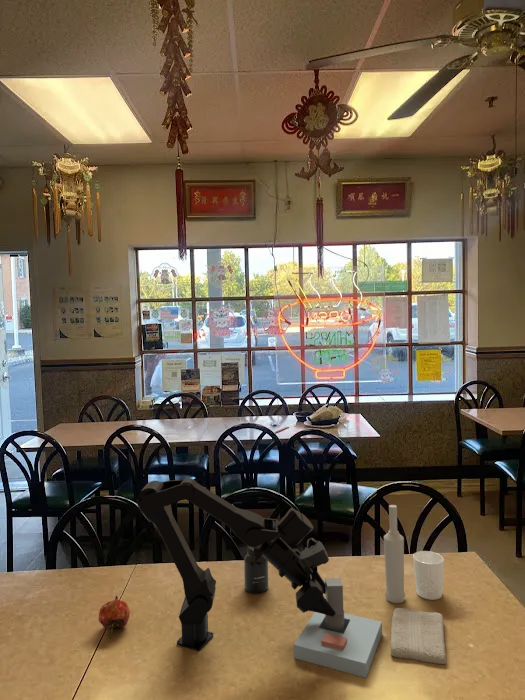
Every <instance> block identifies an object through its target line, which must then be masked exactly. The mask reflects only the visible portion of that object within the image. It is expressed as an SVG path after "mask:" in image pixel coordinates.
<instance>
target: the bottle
mask: <svg viewBox="0 0 525 700" xmlns="http://www.w3.org/2000/svg"><path fill="white" fill-rule="evenodd" d="M388 513H389V516H388V517H389V519H388V520H389V530H388V532H387V533H386V534H384V535H383V550H384V551H383V552H384V570H385V590H384V593H385V598H386V600H387V601H388V602H390V603H393V604H401V603H403V602H404V601H405V599H406V591H405V552H404V551H405V538H404V536H403V535H401V534H400V532H399V530H398V507H397V505H396V504H390V505H388Z"/></svg>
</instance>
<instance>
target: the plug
mask: <svg viewBox="0 0 525 700" xmlns="http://www.w3.org/2000/svg"><path fill="white" fill-rule="evenodd" d="M324 579H325V580H324V582H325V588H326V594H325V599H326V600H327V601H328V603H329V604H330V605H331V607H332V608H333V609H334V611H335V612H336V614H335V615H334V616H329V615H325V622H326V629H325V630H330V631H334V632H338V633H342V634H344V632H345V629H344V613H345V611H344V590H343V589H344V587H343V582H342V579H341V578H340V577H328V578H324Z"/></svg>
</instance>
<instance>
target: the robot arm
mask: <svg viewBox="0 0 525 700" xmlns="http://www.w3.org/2000/svg"><path fill="white" fill-rule="evenodd" d="M185 500H186V501H188V502H189V503H191V504H193V505H194V506H196V507H197V508H199V509H200V510H202V511H204V512H205V513H206V514H208V515H210V516H212V517H214V518H215V519H217V520H218V521H220V522H222V524H224V525H226V526H227V527H228V528H229V529H230V530H231V531H232V532H233V534H234V535H235V536H236V537H237V538H238V539H239V540H240V541H241V542H242V543H244V545H246V546H247V547H248V546H249V547H253V551H254V561H258V559H259V558H260V557H261V556H263V557H265V558H266V559H267V560H268V563H270V564H271V565H272V566H273V567H274V568H275V569H276V570H277V572H278V576H280V578H283V577H284V578H285V579H287V580H288V581H289V582H290V584H291V588H292V589H293V590H294V591H295V590H296V589H297V588H298V587H300V588H299V589H298V590H297V591H296V593H295V602H296V608H297V609H299V611H300V612H302V613H306V612H313V613H314V612H318V613H321V614H325V615H329V616H334V615H335V614H336V612H335V611H334V609H333V608H332V607H331V605H330V604H329V603H328V601H327V600H326V597H325V596H324V595H326V588H325V580H324V579H323V578H322V577H321V574H320V573H319V571H318V567H319V566H321V565H326V564H327V563H328V562H329V561H330V559H329V556H328V552H327V550H326V548H325V545H324V544H323V543H322V542H321V541H320V540H316V539H315V538H313V537H310V538H308V539H307V540H306V541H307V542H306V545H307V546H305V547H304V549H303V550H302V551H300V550H299V549H298V548H295V546H296V547H297V546H298V545H299V544H300V543H301V542H302V541H303V540H304V539H305V538H306V537H307V536H308V535H309V533H311V531H313V530H314V525H313V524H312V522H311V521H310V520H309V518H308V517H307V516H306V515H305V514H303V512H302V513H301V511H298V510H297V509H295V508H294V507H290V508H289V509H288V511H287V512H286V513H285V515H284V516H282V518H281V519H280V520H279V519H275V518H266V517H263V516H262V515H260V514H258V513H256V512H254V511H250V510H248V509H243V508H239V507H237V506H234V505H233V504H231V503H230V502H228V501H227V500H225V499H223V498H222V497H220V496H219V495H217V494H215V493H214V492H212V491H211V490H210V489H207V488H206V487H204V486H203V485H201V484H200V483H198V482H197V481H196V480H195V479H194V478H192V477H186V478H182V479H173V480H166V481H160V480H151V481H149V482H148V483H147V484H146V485H144V487H143V488H142V489H141V491H140V492H139V493H138V495H137V497H136V504H137V507H138V508H139V510H140V512H141V513H142V514H143V515H144V517H145V518H146V519H147V520H148V521H149V522H151V523H152V524H153V525H154V526H155V527H156V529H157V531H158V532H159V535H160V537H161V540H162V542H163V543H164V545H165V547H166V549H167V551H168V553H169V555H170V557H171V559H172V561H173V563H174V565H175V567H176V569H177V571H178V573H179V575H180V577H181V579H182V585H183V590H184V598H183V602H182V606H181V608H180V611H179V614H178V615H179V616H178V619H179V621H180V623H181V625H180V626H181V637H179V638H178V639H177V640H176V645H179V646H182V647H186V648H188V649H192V650H195V651H200V650H202V649H203V647H204V646H205V645H207V643H209V641H210V640H211V639H212V638H213V637H214V632H212V631H209V618H208V617H209V616H208V613H209V612H210V611H211V610H212V607H213V604H214V599H215V596H216V595H215V594H216V584H217V580H216V579H215V578H214V577H213V576H212V573H211V570H210V569H211V568H209V567H208V568H206V569H205V570H204V569H203V568H201V567H200V566H199V564H198V563H197V561H196V559H195V556H194V555H193V552H192V550H191V549H190V546H189V545H188V543H187V541H186V538H185V537H184V535H183V533H182V531H181V528H180V526H179V524H178V523H177V521H176V519H175V516H174V515H173V510H172V504H176V503H178V502H180V501H181V502H182V501H185ZM292 547H294V548H292Z"/></svg>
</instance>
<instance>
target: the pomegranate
mask: <svg viewBox="0 0 525 700" xmlns="http://www.w3.org/2000/svg"><path fill="white" fill-rule="evenodd" d="M118 598H119V597H118V595H115V598H114V599H113V600H111V601H107V602H106V603H104V604H102V606H101V608H99V611H98V622H99V623H100V625H102V627H103V628H105V629H107V630H110V636H109V639H110V640H111V639H112V635H113V632H114V629H115V628H124V627H126V625H127V624H128V621H129V619H130V613H131V611H130V608H129V605H128V603H127V602H126V601H124V600H119V599H118Z"/></svg>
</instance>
